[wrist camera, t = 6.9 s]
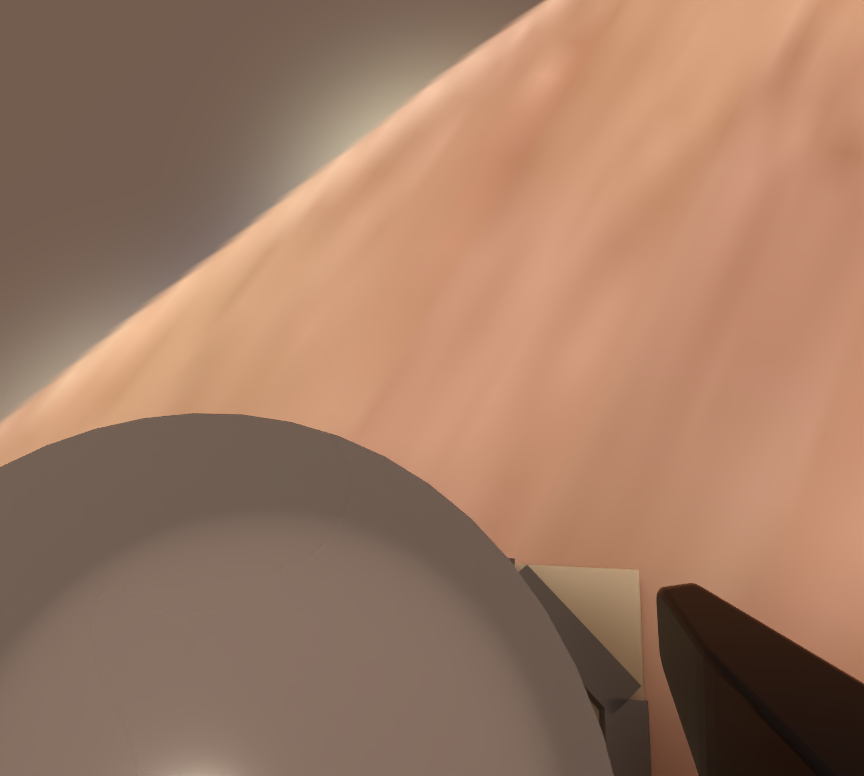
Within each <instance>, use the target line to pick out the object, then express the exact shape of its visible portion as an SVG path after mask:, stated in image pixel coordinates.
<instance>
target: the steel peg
mask: <svg viewBox="0 0 864 776" xmlns="http://www.w3.org/2000/svg"><path fill="white" fill-rule="evenodd" d="M0 776H614V774H613V770H612V767H611V763H610V759H609V755H608V752H607V748H606V744H605V740H604V736H603V733H602V730H601V727H600V725H599V722H598V720H597V717H596V715H595V712H594V710H593V707H592V705H591V702H590V700H589V697H588V694H587V692H586V689H585V687H584V684H583V682H582V679H581V677H580V674H579V672H578V669H577V667H576V665H575V663H574V661H573V659H572V658H571V656H570V654H569V652H568V650H567V648H566V647H565V645H564V643H563V641H562V639H561V637H560V635H559V634H558V632H557V630H556V628H555V626H554V624H553V623H552V621H551V619H550V617H549V615H548V613H547V612H546V610H545V608H544V607H543V606H542V604H541V603H540V601H539V600H538V599H537V597H536V596H535V594H534V593H533V592H532V590H531V589H530V587H529V586H528V585H527V583H526V582H525V580H524V579H523V578H522V576H521V575H520V574H519V572H518V571H517V569H516V568H515V567H514V565H513V564H512V562H511V561H510V560H509V559H508V558H507V557H506V556H505V554H504V553H503V552H502V551H501V550H500V549H499V548H498V547H497V546H496V545H495V544H494V543H493V542H492V541H491V539H490V538H489V537H488V536H487V535H486V534H485V533H484V532H483V531H482V530H481V529H480V528H479V527H478V526H477V524H476V523H475V522H474V521H473V520H472V519H471V518H470V517H468V516H467V515H466V514H465V513H464V512H462V511H461V510H460V509H459V508H458V507H456V506H455V505H454V504H453V503H451V502H450V501H449V500H448V499H447V498H445V497H444V496H443V495H442V494H440V493H439V492H438V491H437V490H436V489H434V488H433V487H432V486H431V485H430V484H428V483H426V482H425V481H423V480H422V479H420V478H418V477H417V476H415V475H414V474H412V473H410V472H409V471H407V470H405V469H404V468H402V467H401V466H399V465H397V464H396V463H394V462H393V461H391V460H389V459H388V458H386V457H384V456H382V455H380V454H378V453H375V452H373V451H371V450H369V449H366V448H364V447H362V446H360V445H357V444H355V443H353V442H351V441H349V440H346V439H344V438H342V437H340V436H337V435H333V434H330V433H326V432H323V431H320V430H316V429H313V428H309V427H306V426H303V425H299V424H296V423H292V422H287V421H281V420H274V419H268V418H261V417H255V416H248V415H238V414H199V413H192V414H182V415H172V416H162V417H152V418H143V419H138V420H134V421H129V422H125V423H120V424H116V425H111V426H107V427H102V428H98V429H94V430H91V431H88V432H85V433H82V434H79V435H76V436H73V437H70V438H67V439H64V440H62V441H59V442H56V443H53V444H50V445H47V446H44V447H42V448H40V449H38V450H36V451H34V452H32V453H29V454H27V455H25V456H23V457H21V458H19V459H17V460H15V461H12V462H10V463H8V464H6V465H4V466H2V467H0Z"/></svg>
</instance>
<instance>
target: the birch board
mask: <svg viewBox="0 0 864 776" xmlns="http://www.w3.org/2000/svg"><path fill="white" fill-rule="evenodd" d="M508 559H509V560H510V561H511V562H512V564H513V565H514V567H515V568H516V569H517V571H518V572H519V574H520V575H521V576H522V578H523V579H524V580H525V582H526V583H527V585H528V586H529V587H530V589H531V590H532V592H533V593H534V594H535V596H536V597H537V599H538V600H539V601H540V603H541V604H542V606H543V607H544V608H545V610H546V612H547V613H548V615H549V617H550V619H551V621H552V623H553V624H554V626H555V628H556V630H557V632H558V634H559V635H560V637H561V639H562V641H563V643H564V645H565V647H566V648H567V650H568V652H569V654H570V656H571V658H572V659H573V661H574V663H575V665H576V667H577V669H578V672H579V674H580V677H581V679H582V682H583V684H584V687H585V689H586V692H587V694H588V697H589V700H590V702H591V705H592V707H593V710H594V712H595V715H596V717H597V720H598V722H599V725H600V727H601V730H602V733H603V736H604V740H605V744H606V748H607V752H608V755H609V759H610V763H611V767H612V770H613V774H614V776H651V756H650V734H649V713H648V701H645V700H644V678H643V655H642V632H641V609H640V587H639V570H631V569H611V568H590V567H570V566H549V565H528V564H515V559H513V558H508Z"/></svg>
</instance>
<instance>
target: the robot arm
mask: <svg viewBox="0 0 864 776" xmlns="http://www.w3.org/2000/svg"><path fill="white" fill-rule="evenodd" d="M657 618H658V635H659V650H660V657H661V662H662V666H663V669H664V673H665V676H666V679H667V682H668V685H669V688H670V691H671V694H672V697H673V699H674V702H675V705H676V708H677V711H678V714H679V717H680V720H681V723H682V726H683V729H684V732H685V735H686V738H687V741H688V744H689V747H690V750H691V753H692V756H693V759H694V762H695V765H696V768H697V771H698V774H699V776H864V683H862V682H860V681H859V680H857V679H855V678H854V677H852V676H850V675H849V674H847V673H845V672H844V671H842V670H840V669H838V668H837V667H835V666H833V665H832V664H830V663H828V662H827V661H825V660H823V659H822V658H820V657H818V656H817V655H815V654H813V653H812V652H810V651H808V650H807V649H805V648H803V647H802V646H800V645H798V644H797V643H795V642H793V641H792V640H790V639H788V638H786V637H785V636H783V635H781V634H780V633H778V632H776V631H775V630H773V629H771V628H770V627H768V626H766V625H765V624H763V623H761V622H760V621H758V620H756V619H755V618H753V617H751V616H750V615H748V614H746V613H745V612H743V611H741V610H739V609H738V608H736V607H734V606H733V605H731V604H729V603H728V602H726V601H724V600H723V599H721V598H719V597H718V596H716V595H714V594H713V593H711V592H709V591H708V590H706V589H704V588H703V587H701V586H699V585H697V584H694V583H688V584H681V585H674V586H667V587H662V588H661V589H659V591H658V593H657Z"/></svg>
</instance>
